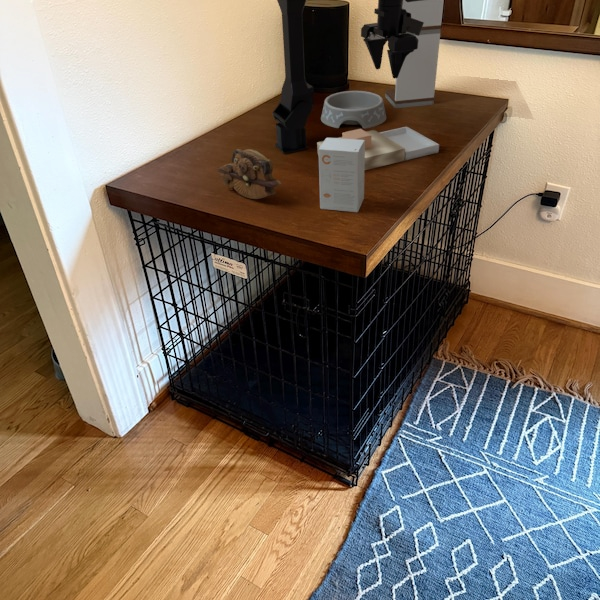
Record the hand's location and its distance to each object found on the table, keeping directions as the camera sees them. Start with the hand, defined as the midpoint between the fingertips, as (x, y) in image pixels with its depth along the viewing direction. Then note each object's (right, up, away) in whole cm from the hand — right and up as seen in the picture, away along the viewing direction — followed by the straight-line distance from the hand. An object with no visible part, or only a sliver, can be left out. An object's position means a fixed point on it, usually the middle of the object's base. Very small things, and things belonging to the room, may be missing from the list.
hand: (386, 73), depth 141 cm
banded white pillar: (+11, +2, +26) cm, 28 cm away
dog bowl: (-7, -6, +17) cm, 19 cm away
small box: (-13, -37, -24) cm, 46 cm away
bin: (+5, -19, -2) cm, 19 cm away
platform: (-7, -23, -6) cm, 24 cm away
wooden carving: (-32, -35, -19) cm, 51 cm away
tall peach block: (-8, -20, -8) cm, 23 cm away
